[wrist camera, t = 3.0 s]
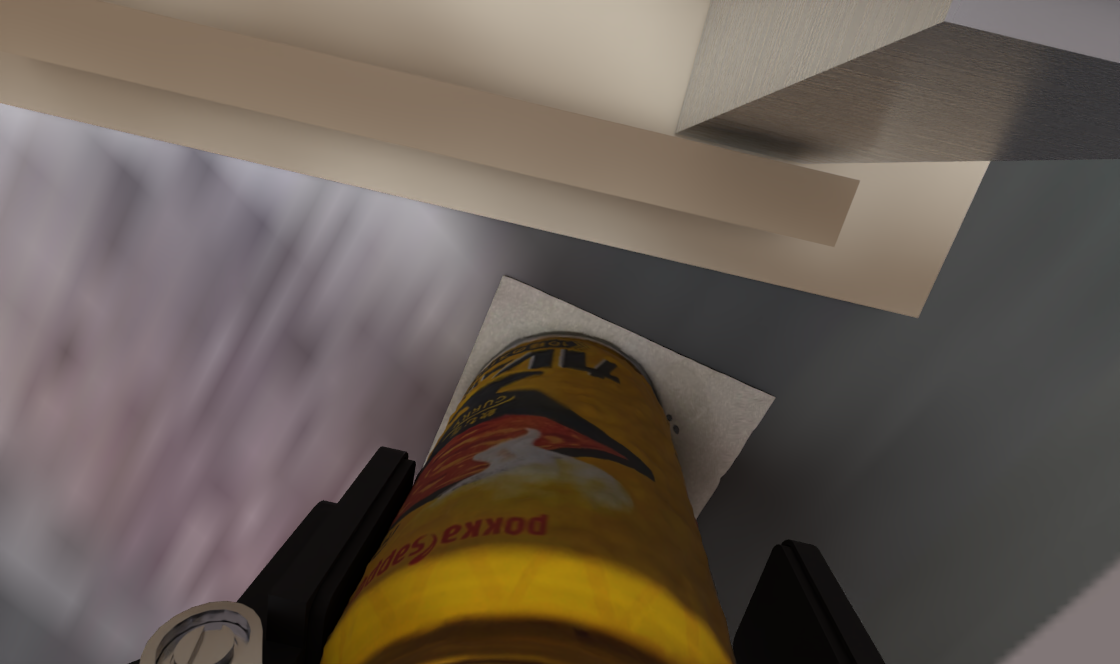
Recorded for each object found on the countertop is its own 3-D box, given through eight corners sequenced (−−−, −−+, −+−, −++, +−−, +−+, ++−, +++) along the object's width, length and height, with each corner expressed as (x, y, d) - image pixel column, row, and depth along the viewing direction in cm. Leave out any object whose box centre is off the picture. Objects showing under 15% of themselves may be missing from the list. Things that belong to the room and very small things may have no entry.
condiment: (504, 273, 14) (163, 683, 3) (774, 395, 15) (1352, 1124, 4) (418, 478, 17) (32, 1168, 5) (656, 577, 17) (783, 1390, 6)
